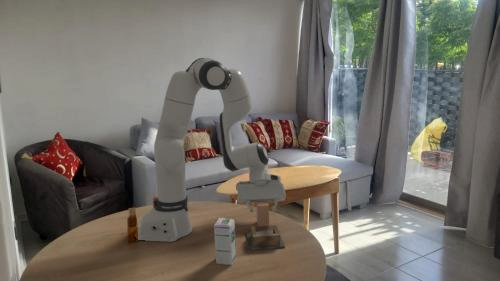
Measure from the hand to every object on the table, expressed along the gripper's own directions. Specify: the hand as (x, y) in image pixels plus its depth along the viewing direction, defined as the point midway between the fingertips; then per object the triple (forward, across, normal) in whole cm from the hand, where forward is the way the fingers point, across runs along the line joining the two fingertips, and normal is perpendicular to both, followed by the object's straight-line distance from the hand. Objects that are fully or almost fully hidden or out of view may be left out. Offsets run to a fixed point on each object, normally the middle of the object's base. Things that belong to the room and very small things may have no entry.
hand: (262, 211), depth 159 cm
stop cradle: (+14, -1, -6) cm, 16 cm away
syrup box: (+23, -16, -14) cm, 31 cm away
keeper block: (+4, 0, +5) cm, 6 cm away
